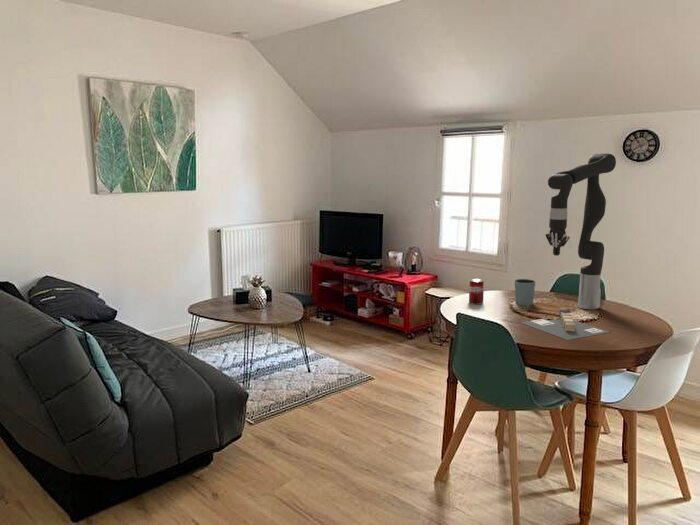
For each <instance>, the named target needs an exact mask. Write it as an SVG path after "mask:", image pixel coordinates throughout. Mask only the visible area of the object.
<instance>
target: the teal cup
mask: <svg viewBox="0 0 700 525" xmlns="http://www.w3.org/2000/svg"><path fill="white" fill-rule="evenodd" d="M535 287H536V280H534V279H529V278H519V279H515V280H514V292H515V304H516V305H517V306H522V305H530V306H533V305H534V297H535V289H536V288H535ZM532 304H533V305H532Z"/></svg>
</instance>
